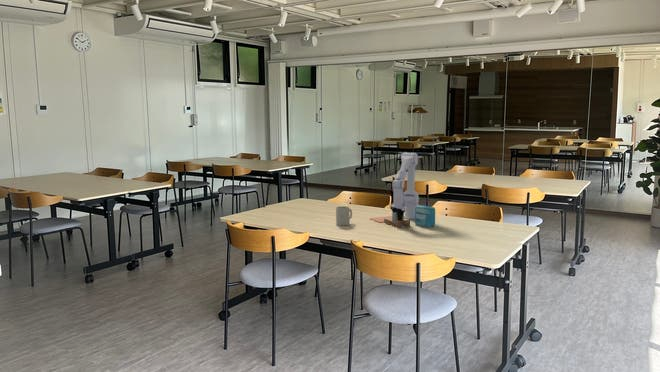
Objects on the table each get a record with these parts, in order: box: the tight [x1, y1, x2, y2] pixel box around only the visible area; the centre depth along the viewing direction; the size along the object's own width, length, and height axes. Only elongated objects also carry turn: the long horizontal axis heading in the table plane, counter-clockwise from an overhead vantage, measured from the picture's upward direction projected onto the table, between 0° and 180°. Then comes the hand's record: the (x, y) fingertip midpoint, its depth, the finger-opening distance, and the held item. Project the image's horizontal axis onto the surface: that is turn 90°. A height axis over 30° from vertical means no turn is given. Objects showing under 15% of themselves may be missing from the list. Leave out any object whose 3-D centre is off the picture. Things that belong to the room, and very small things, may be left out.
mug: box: [335, 205, 353, 227], centre depth 331 cm, size 12×8×11 cm
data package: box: [414, 205, 436, 228], centre depth 323 cm, size 12×4×12 cm, turn 49°
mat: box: [369, 215, 392, 224], centre depth 343 cm, size 16×13×1 cm
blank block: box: [391, 212, 405, 223], centre depth 327 cm, size 6×4×7 cm, turn 112°
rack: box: [383, 219, 411, 228], centre depth 328 cm, size 10×16×4 cm, turn 22°
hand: (398, 220), depth 327 cm, fingers closed on blank block, 4 cm apart
